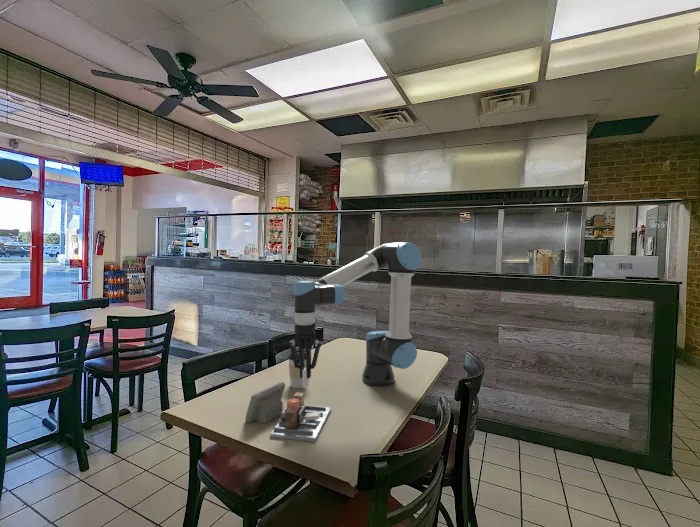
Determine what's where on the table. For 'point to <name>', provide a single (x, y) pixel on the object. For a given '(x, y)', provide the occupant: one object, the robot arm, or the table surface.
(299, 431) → the grey compartment tray
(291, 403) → the button
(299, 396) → the tan wooden block
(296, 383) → the coffee cup
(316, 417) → the block
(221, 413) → the table surface
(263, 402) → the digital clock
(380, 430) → the table surface
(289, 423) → the dark brown wooden block
